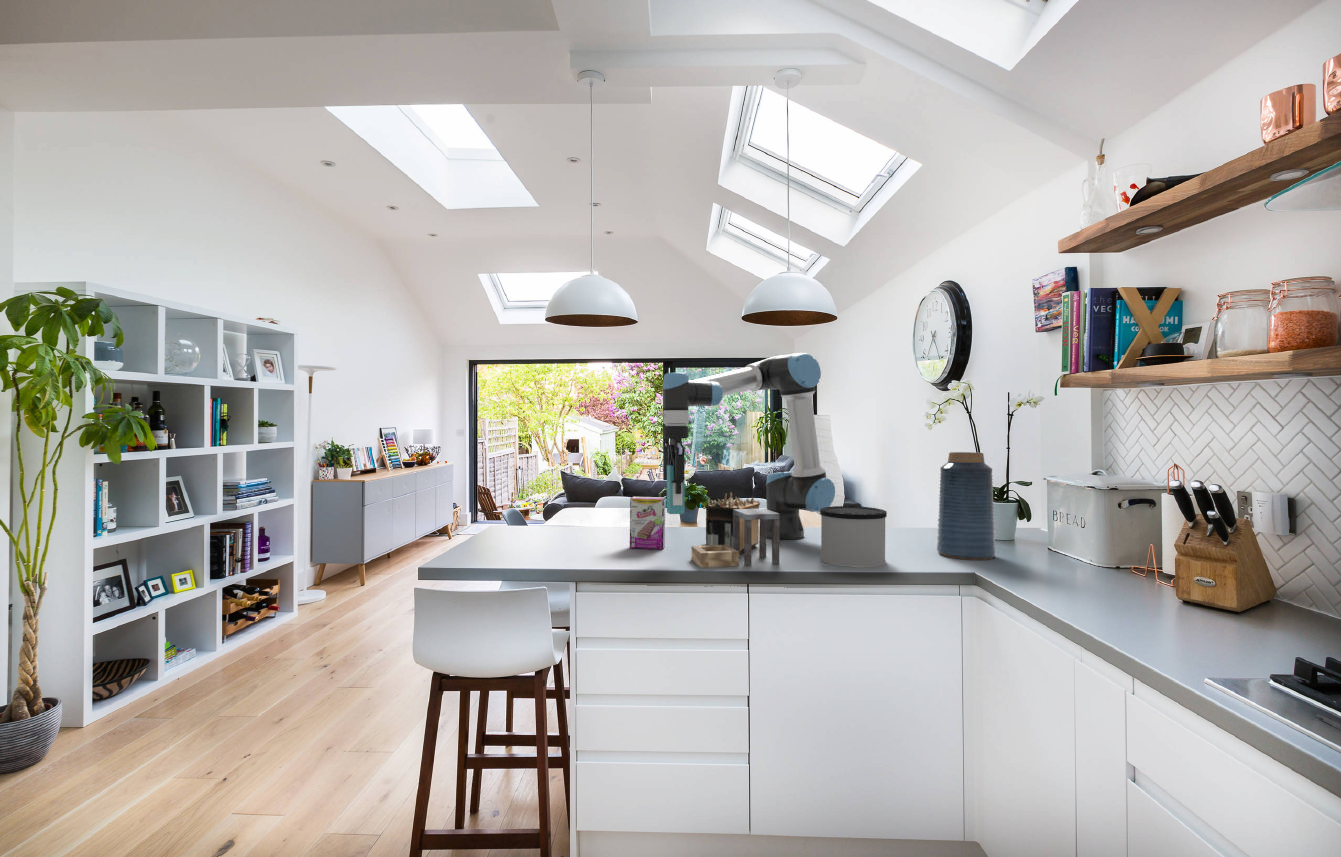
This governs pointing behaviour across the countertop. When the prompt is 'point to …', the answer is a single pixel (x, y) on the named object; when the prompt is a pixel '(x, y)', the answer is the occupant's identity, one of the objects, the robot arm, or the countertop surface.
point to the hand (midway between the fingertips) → (675, 503)
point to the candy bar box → (647, 522)
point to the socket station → (729, 555)
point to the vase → (966, 508)
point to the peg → (670, 507)
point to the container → (853, 536)
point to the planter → (728, 522)
